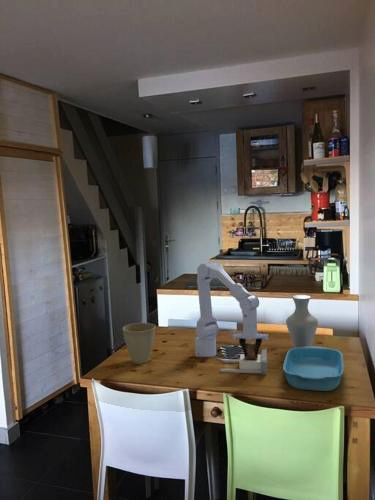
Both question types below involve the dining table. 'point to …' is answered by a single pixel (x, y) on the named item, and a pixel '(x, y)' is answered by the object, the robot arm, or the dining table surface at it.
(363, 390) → the dining table surface
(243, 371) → the slide board
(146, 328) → the plant pot
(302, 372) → the casserole dish
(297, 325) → the vase
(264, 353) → the stop wall
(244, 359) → the sliding block
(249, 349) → the dowel
